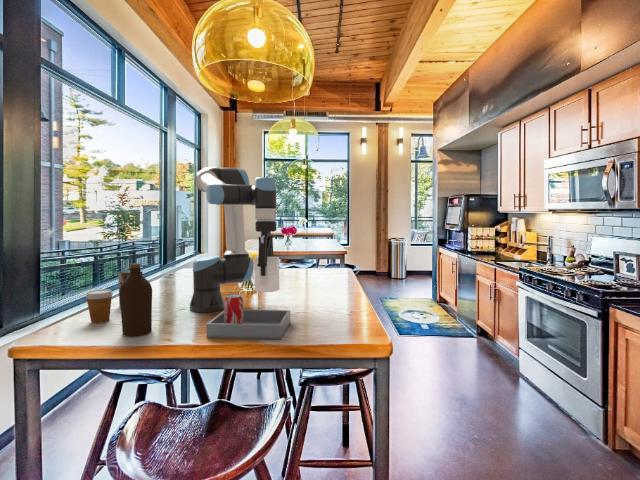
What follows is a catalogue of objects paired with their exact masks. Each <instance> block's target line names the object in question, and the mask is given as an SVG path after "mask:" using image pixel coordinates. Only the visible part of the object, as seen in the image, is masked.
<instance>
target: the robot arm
mask: <svg viewBox="0 0 640 480" xmlns="http://www.w3.org/2000/svg"><path fill="white" fill-rule="evenodd" d="M194 184H195V187H196V188H197V189H199V191H201V192H204V193H206V200H207V203H208V204H209V205H217V206H220V205H223V206H224V207H223V208H224V223H225V225H224V227H225V247H226V251H225V252H224V253H223V258H221V257H220V256H219V255H209V256H203V257H198V258H197V259H195V260H193V264H192V277H193V278H192V280H193V285H192V287H193V292H192V293H193V294H192V296H191V300H190V302H189V310H190V311H191V312H194V313H210V312H211V313H212V312H217V311H221V310H224V300H225V298H224V297H223V294H222V291H221V285H223V284H224V285H225V284H227V285H228V284H241V283H246V282H249V281H251V279H252V277H253V275H254V274H253V273H254V258H252V257H251V256H250V254H249V252H248V251H247V250H246V242H245V241H246V239H245V238H246V237H245V222H244V221H245V219H244V206H245V205H246V206H255V207H254V213H255V214H254V215H255V216H254V219H255V220H256V221H255V231H256V232H258V233H260V236H259V237H258V264H257V267H260V285H268V266H267V257H275V256H274V255H275V254H274V240H273V239H274V236H273V234H272V233H273V232H274V233H275V232H276V231H277V221H276V220H277V215H278V213H279V212H278V211H277V182H276V179H275V177H270V176H269V177H267V176H260V177H256V178H255V179H254V184H250V178H249V175H248V173H247V171H246V170H245V169H243V168H240V167H239V168H237V167H223V166H208V167H204V168H202V169H201V170H199V171H198V172H197V173H196V175H195V176H194ZM271 232H272V233H271Z"/></svg>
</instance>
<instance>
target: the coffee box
mask: <svg viewBox="0 0 640 480" xmlns="http://www.w3.org/2000/svg"><path fill="white" fill-rule="evenodd" d="M140 273H141V275H142V276H143V271H141V270H140ZM129 275H130V270H124V271H119V272H117V278H118V281H117V282H118V290H119V289H120V286H121V284H122V283H123V282H124V281H125V280H126V279H127V278H128V277H129ZM143 277H144V276H143ZM118 299H119V302H118V303H119V305H120V298H119V297H118Z"/></svg>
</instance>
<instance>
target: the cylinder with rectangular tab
mask: <svg viewBox="0 0 640 480" xmlns="http://www.w3.org/2000/svg"><path fill="white" fill-rule="evenodd" d="M253 263H254V269H253V273H254V274H253V275H254V278H253V279H254V281H253V283H254V284H253V285H254V291H255V292H256V293H257V292H258V293H273V292H274V293H275V292H278V291H280V256H274V257H267V266H268V285H260V267H257V264H258V256H254V257H253Z"/></svg>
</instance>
